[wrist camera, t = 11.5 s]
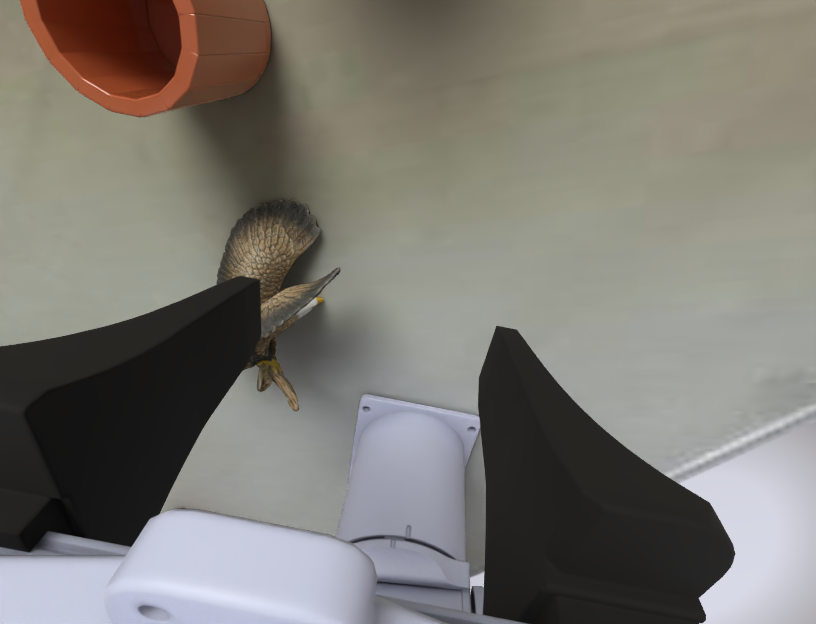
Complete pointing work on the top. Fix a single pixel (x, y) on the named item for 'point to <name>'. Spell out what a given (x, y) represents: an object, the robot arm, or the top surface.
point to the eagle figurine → (274, 277)
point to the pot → (153, 49)
